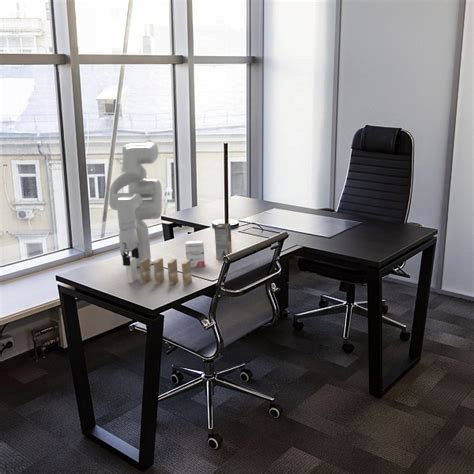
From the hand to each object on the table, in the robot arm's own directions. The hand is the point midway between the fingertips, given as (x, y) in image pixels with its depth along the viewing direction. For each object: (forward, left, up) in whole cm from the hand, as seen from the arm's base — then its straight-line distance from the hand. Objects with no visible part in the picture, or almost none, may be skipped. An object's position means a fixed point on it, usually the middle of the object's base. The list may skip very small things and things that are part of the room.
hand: (131, 261), depth 265 cm
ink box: (+22, +23, -9) cm, 33 cm away
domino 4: (+26, -1, -9) cm, 28 cm away
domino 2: (+13, -1, -9) cm, 16 cm away
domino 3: (+20, -1, -9) cm, 22 cm away
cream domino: (0, -1, -9) cm, 9 cm away
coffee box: (+32, +38, -9) cm, 51 cm away
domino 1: (+7, -1, -9) cm, 11 cm away
